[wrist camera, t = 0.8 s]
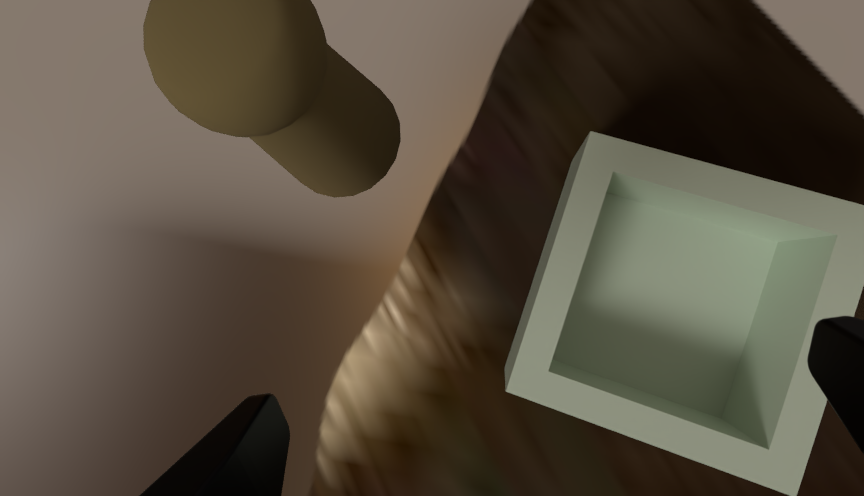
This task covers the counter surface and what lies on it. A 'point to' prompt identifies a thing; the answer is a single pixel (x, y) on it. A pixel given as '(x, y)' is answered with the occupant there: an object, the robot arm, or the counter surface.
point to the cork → (274, 87)
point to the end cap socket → (688, 307)
